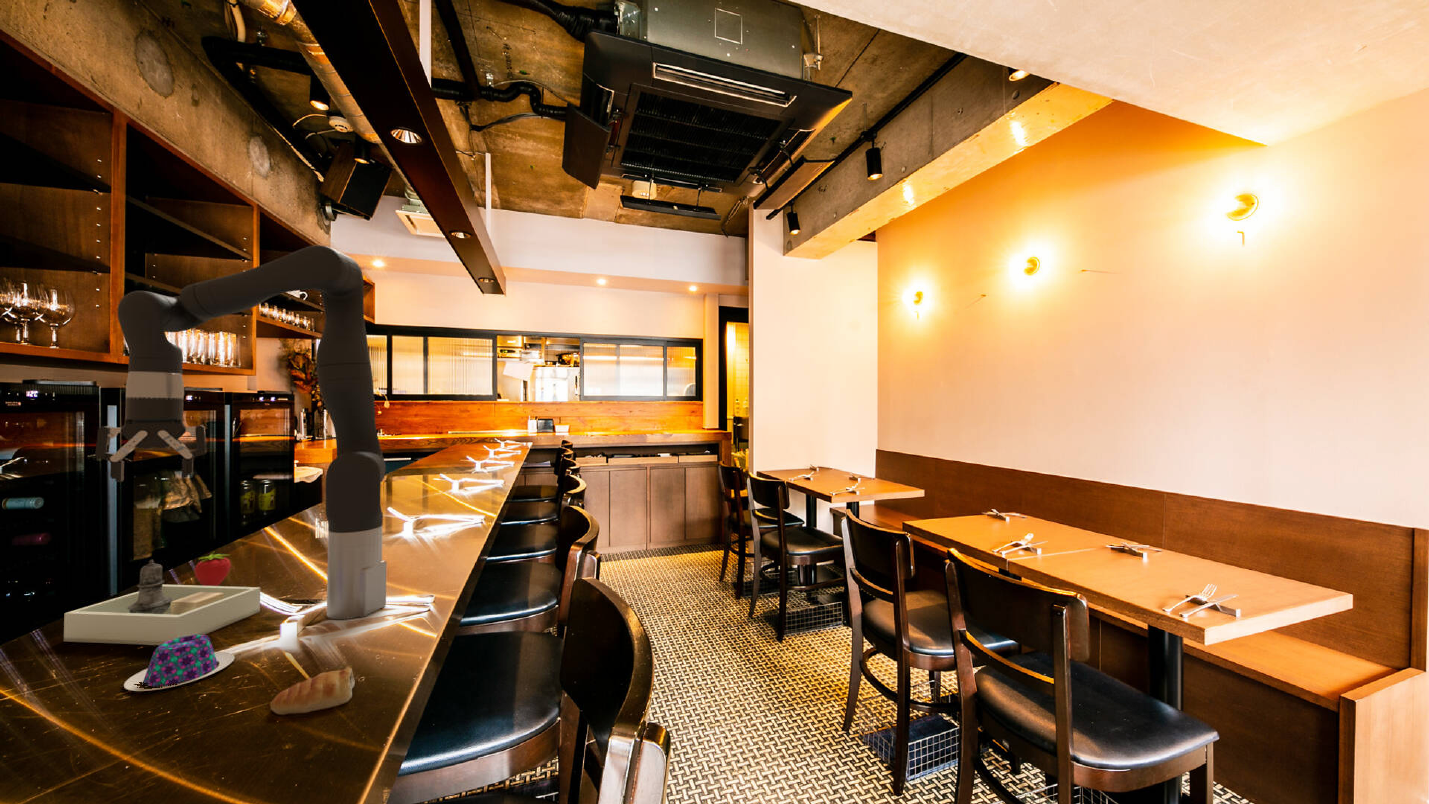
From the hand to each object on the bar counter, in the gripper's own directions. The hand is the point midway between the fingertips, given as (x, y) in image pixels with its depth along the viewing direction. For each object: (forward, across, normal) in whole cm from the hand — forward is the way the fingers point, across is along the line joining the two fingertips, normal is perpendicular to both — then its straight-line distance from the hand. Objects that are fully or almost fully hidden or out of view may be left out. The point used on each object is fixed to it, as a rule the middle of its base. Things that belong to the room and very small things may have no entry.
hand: (153, 479), depth 97 cm
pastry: (+29, +23, -53) cm, 65 cm away
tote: (+28, +3, -3) cm, 28 cm away
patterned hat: (+29, +7, -30) cm, 42 cm away
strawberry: (+28, +7, +17) cm, 34 cm away
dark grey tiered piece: (+28, 0, 0) cm, 28 cm away
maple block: (+28, +7, -7) cm, 29 cm away
